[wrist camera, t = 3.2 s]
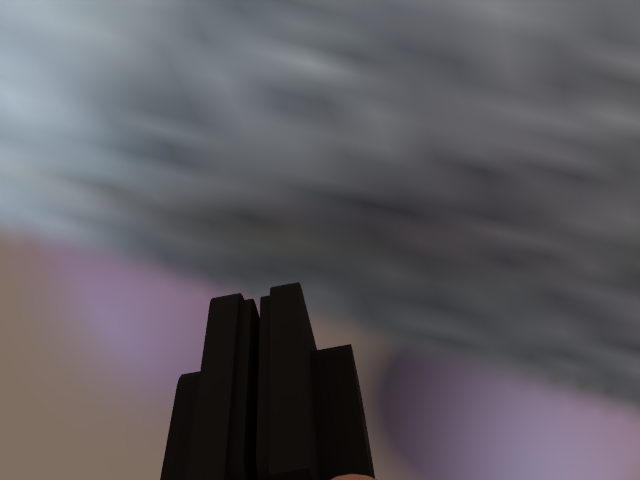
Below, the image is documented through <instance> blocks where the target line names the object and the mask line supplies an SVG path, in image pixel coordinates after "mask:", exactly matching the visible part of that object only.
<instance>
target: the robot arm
mask: <svg viewBox="0 0 640 480" xmlns="http://www.w3.org/2000/svg"><path fill="white" fill-rule="evenodd" d="M160 480H376V479H375V476H374V469H373V463H372V457H371V451H370V445H369V438H368V432H367V426H366V420H365V414H364V408H363V402H362V397H361V391H360V386H359V380H358V375H357V370H356V366H355V361H354V356H353V351H352V347H351V344H349V345H344V346H338V347H333V348H327V349H322V350H317V348H316V345H315V341H314V336H313V332H312V328H311V324H310V320H309V316H308V312H307V308H306V304H305V300H304V296H303V292H302V289H301V285H300V283H299V282H298V283H292V284H287V285H281V286H276V287H271V288H270V295H269V296H264V297H261V300H260V317H259V314H258V311H257V307H256V304H255V302H254V300H253V299H248V300H244V298H243V296H242V294H241V293H238V294H233V295H227V296H222V297H216V298H212V299H211V301H210V306H209V314H208V321H207V328H206V335H205V342H204V350H203V357H202V364H201V371H200V372H194V373H188V374H182V375H181V377H180V378H179V381H178V384H177V389H176V395H175V400H174V406H173V411H172V417H171V422H170V428H169V434H168V440H167V445H166V451H165V456H164V461H163V467H162V473H161V478H160Z"/></svg>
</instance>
